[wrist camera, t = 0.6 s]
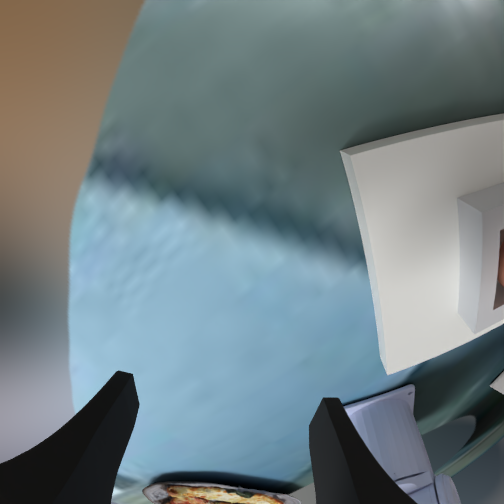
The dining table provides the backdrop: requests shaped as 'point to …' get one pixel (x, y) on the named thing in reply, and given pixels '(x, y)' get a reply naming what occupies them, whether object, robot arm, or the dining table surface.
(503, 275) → the button
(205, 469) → the dining table surface
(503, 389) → the laptop
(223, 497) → the food plate
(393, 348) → the button panel
